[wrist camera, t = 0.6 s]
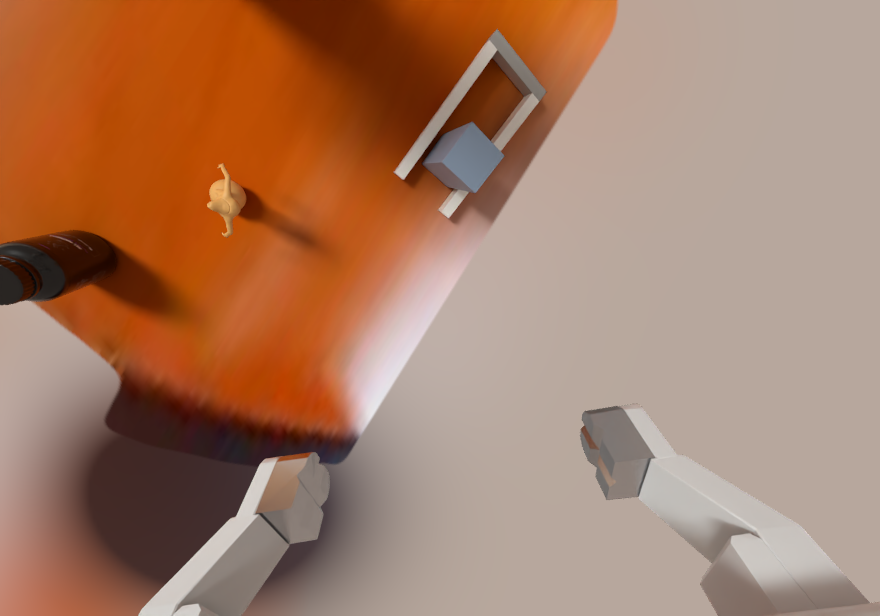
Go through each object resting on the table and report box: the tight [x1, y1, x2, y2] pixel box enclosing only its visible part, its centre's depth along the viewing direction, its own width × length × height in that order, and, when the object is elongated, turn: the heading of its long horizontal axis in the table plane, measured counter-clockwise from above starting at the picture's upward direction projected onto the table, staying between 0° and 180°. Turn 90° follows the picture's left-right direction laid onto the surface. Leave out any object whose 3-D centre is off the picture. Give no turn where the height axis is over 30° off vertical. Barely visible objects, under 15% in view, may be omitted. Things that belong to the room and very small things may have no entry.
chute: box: [394, 29, 546, 218], centre depth 45 cm, size 22×10×2 cm, turn 140°
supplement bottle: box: [0, 230, 116, 305], centre depth 37 cm, size 7×7×12 cm
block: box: [422, 122, 504, 193], centre depth 41 cm, size 5×5×14 cm
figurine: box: [207, 163, 246, 238], centre depth 38 cm, size 8×6×12 cm
